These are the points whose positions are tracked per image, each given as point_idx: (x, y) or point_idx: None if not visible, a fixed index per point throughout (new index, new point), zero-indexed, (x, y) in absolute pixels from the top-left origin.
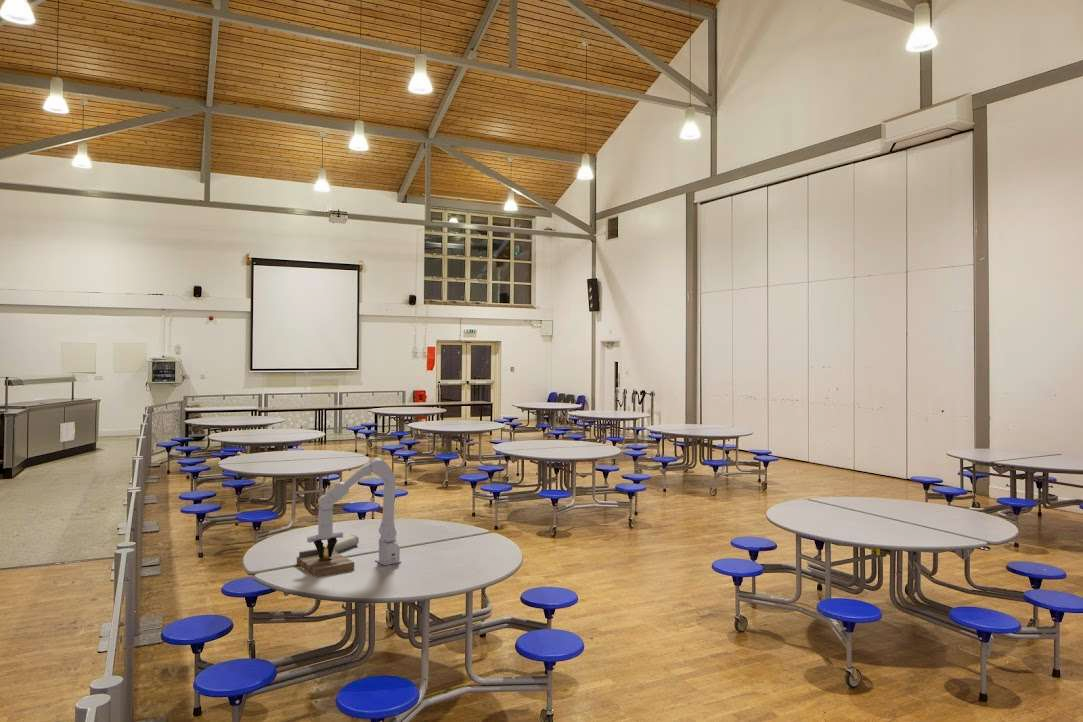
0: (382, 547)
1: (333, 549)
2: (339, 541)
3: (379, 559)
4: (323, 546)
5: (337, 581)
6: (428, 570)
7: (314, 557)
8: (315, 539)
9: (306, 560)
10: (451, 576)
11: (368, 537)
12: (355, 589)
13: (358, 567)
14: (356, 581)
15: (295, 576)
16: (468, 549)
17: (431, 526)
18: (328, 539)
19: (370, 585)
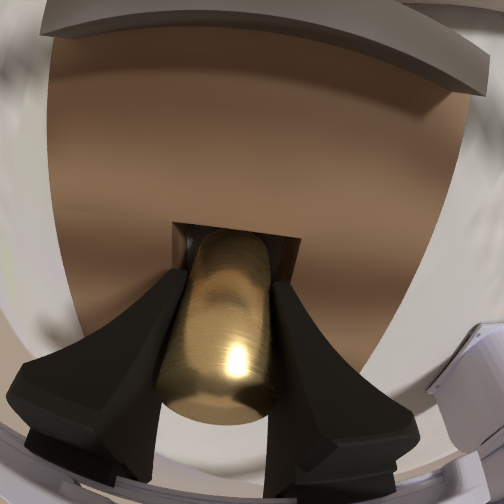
0: (474, 424)
1: (490, 4)
2: None
3: (463, 364)
4: (188, 397)
5: (183, 425)
6: (420, 441)
7: (176, 130)
8: (40, 473)
9: (76, 188)
10: (396, 464)
11: None
12: (201, 461)
13: (364, 367)
14: (235, 445)
15: (38, 288)
16: None
17: None
18: (309, 463)
19: (246, 463)
